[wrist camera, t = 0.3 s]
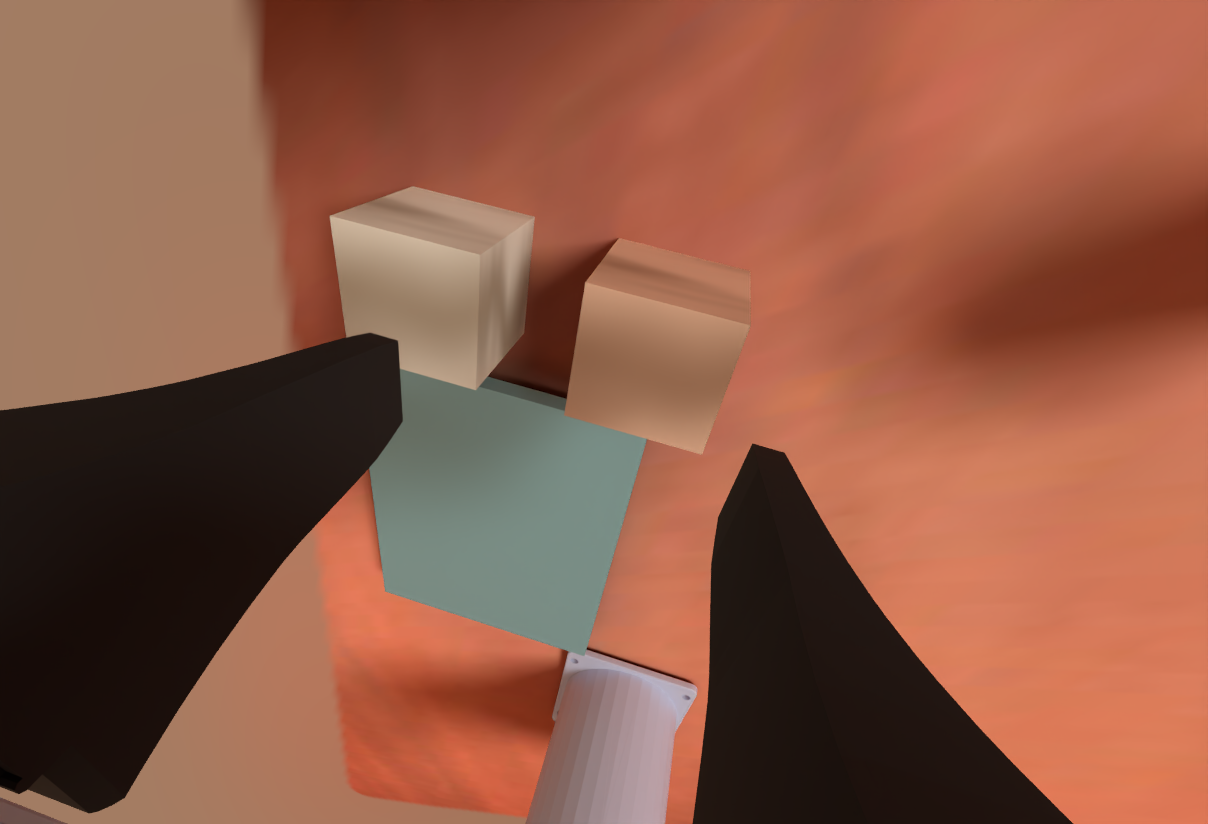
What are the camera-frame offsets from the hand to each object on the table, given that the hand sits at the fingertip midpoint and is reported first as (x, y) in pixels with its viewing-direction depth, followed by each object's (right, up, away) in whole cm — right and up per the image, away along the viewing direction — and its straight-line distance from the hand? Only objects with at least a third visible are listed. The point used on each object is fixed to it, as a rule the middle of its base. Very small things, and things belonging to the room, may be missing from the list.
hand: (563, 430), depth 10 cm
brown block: (+3, +4, +8) cm, 10 cm away
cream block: (-4, +6, +9) cm, 11 cm away
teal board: (-4, -4, +16) cm, 17 cm away
